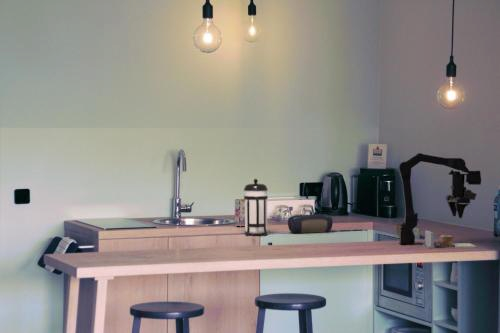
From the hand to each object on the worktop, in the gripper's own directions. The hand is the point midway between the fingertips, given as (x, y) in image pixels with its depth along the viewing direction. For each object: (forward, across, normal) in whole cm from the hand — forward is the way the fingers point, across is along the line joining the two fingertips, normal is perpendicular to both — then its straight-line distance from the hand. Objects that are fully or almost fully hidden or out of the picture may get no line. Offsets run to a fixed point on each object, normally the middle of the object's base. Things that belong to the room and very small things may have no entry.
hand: (457, 217), depth 385 cm
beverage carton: (+14, +36, +14) cm, 41 cm away
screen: (+13, -6, +15) cm, 21 cm away
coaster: (+13, -6, -1) cm, 15 cm away
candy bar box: (+16, +98, +96) cm, 138 cm away
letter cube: (+13, -6, +7) cm, 16 cm away
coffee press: (+16, +51, +92) cm, 106 cm away
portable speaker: (+15, +60, +62) cm, 88 cm away
